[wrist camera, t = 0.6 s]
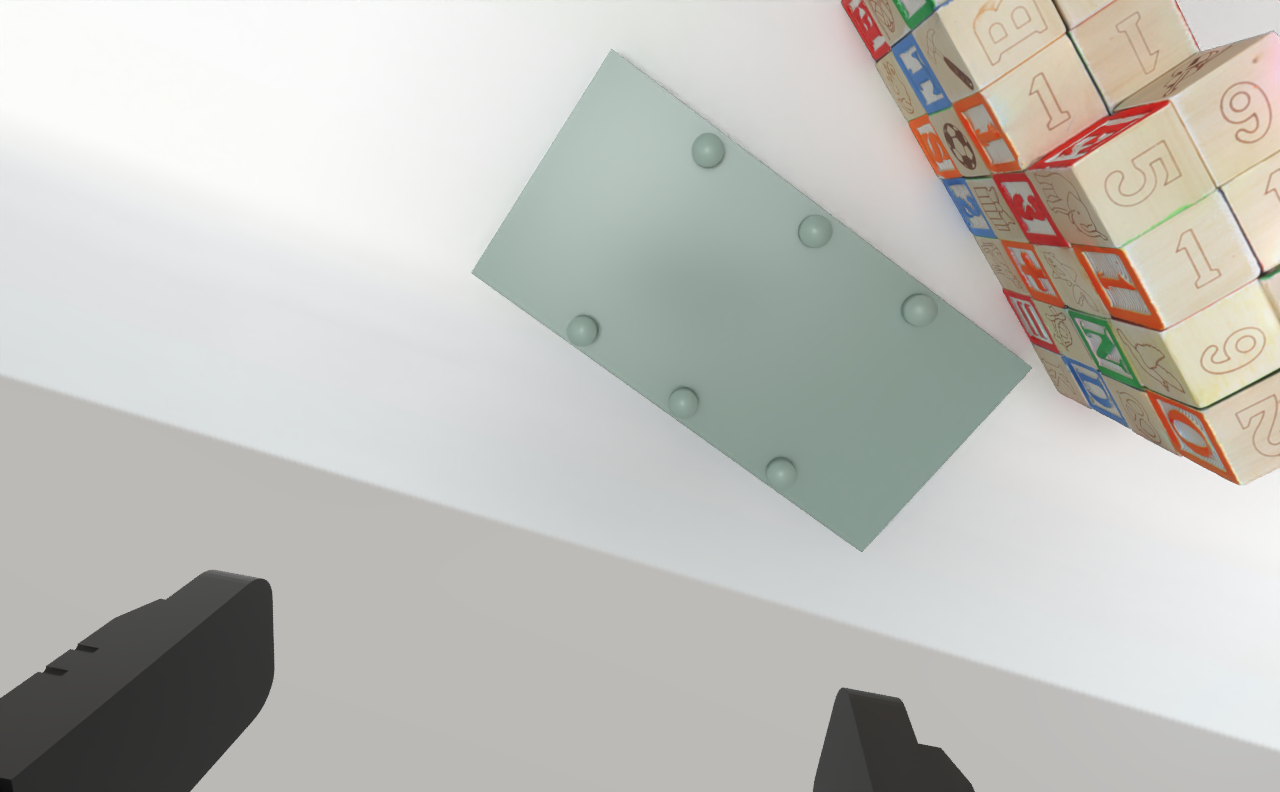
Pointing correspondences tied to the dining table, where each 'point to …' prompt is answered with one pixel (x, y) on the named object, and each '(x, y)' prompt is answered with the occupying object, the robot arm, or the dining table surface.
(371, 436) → the dining table surface
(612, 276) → the baseplate
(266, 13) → the dining table surface
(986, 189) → the stack of blocks
